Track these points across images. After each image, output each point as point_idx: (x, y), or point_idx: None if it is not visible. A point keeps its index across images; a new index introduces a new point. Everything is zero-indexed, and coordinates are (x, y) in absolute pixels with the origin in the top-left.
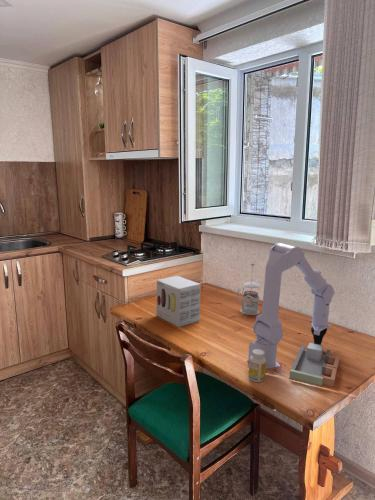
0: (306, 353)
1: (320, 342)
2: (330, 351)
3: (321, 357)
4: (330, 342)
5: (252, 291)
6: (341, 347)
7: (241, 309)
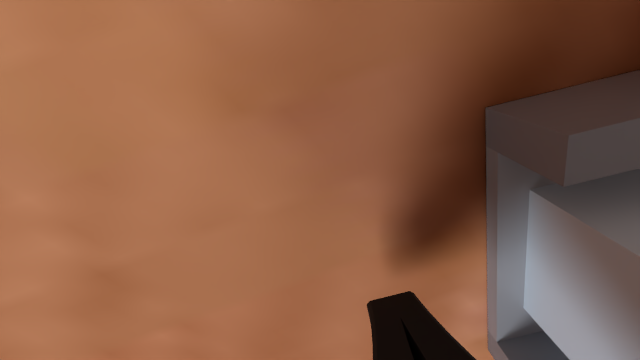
0: None
1: (447, 343)
2: (559, 127)
3: None
4: (36, 258)
5: None
6: (39, 92)
7: None
